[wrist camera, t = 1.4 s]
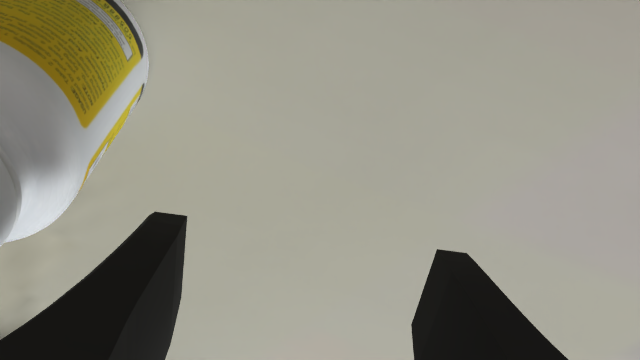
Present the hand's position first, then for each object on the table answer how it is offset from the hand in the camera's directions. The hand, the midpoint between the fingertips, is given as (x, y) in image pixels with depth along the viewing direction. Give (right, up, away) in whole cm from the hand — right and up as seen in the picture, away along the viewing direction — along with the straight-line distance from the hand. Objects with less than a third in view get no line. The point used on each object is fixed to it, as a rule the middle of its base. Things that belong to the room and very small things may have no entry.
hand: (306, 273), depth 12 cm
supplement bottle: (-8, +6, +8) cm, 13 cm away
